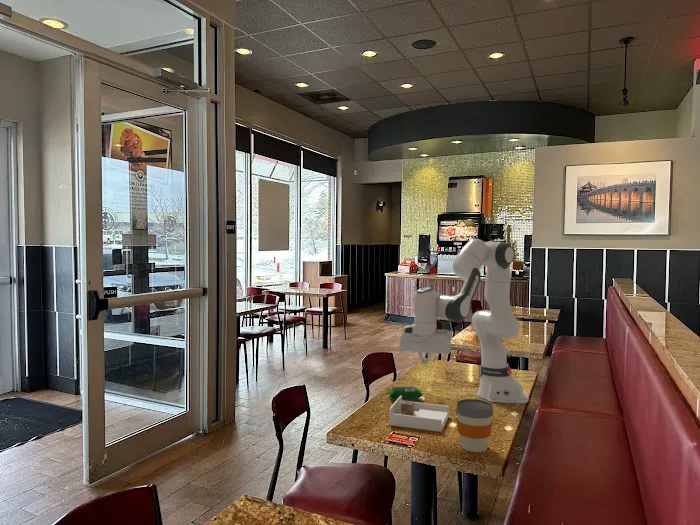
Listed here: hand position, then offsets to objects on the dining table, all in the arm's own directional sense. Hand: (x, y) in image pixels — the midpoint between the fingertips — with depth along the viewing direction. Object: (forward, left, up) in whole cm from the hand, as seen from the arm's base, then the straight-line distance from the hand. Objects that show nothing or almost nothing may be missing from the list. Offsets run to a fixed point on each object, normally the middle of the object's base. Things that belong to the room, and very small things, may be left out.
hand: (425, 363), depth 203 cm
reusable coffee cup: (-22, +20, -23) cm, 37 cm away
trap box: (+1, +2, -23) cm, 23 cm away
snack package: (+13, -24, -23) cm, 36 cm away
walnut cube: (+6, +2, -20) cm, 21 cm away
